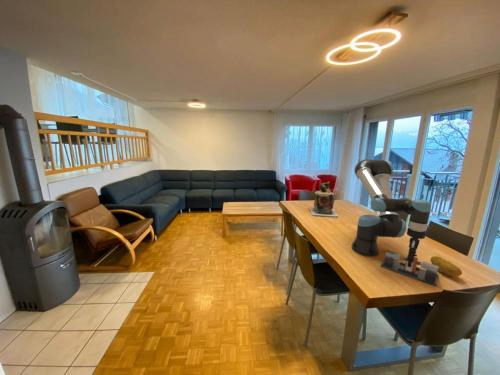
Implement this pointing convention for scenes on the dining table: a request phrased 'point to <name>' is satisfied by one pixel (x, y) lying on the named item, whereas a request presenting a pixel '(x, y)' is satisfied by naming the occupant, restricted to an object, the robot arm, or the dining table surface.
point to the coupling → (413, 263)
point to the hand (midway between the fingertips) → (409, 269)
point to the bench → (420, 274)
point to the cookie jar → (324, 202)
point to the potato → (446, 266)
